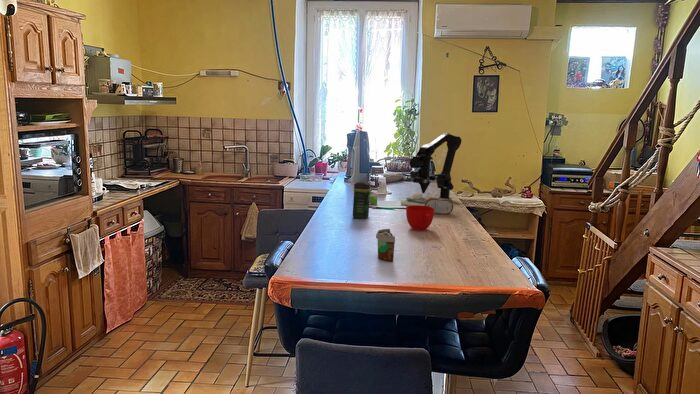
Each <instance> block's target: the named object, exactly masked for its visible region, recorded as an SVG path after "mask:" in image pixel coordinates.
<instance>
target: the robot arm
mask: <svg viewBox="0 0 700 394" xmlns="http://www.w3.org/2000/svg"><path fill="white" fill-rule="evenodd" d="M445 143H446V147H447V152H446V155H445V158H444V162H443V167H442V170H441V171H440V173H437V177H436V176H435V175H434V174H430V172H432V169H431V161H432V160H434V158H433V157H432V155H433V154H434V153H435V152H436V150H437V149H438V148H440V146H442V145H443V144H445ZM461 144H462V137H460V136H458V135H452V134H450V133H447V132H443V133H441V135H439V136H438V137H436V138H435V139H434V140H432V141H431V142H429V143H426V144H423V145H421V146H420V147H419V149H418V151H417V153H416V154H415V156H414V155H413V156H412V158H411V159H410V161H409V166H410V168H412V169H417V171H414V170H411V171H410V172H409V176H410V177H411V179H412V183H416V184H419V185H420V189H421V194H425V193H426V191H427V189H428V187H429V186H430V184H431V183H432V182H431V180H432V181H436V185H437V189H440V191H439V197H437V198H445V199H449V200H452V197H450V192H451V191H452V190H454V185H453V183H452V175H451V172H452V167H453V163H454V159H455V155H456V152H457V150H458V149H460V147H461ZM429 180H430V181H429Z"/></svg>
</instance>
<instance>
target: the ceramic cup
mask: <svg viewBox="0 0 700 394" xmlns="http://www.w3.org/2000/svg"><path fill="white" fill-rule="evenodd" d="M405 207H406V208H405V209H406V210H405V211H406V213H405V216H406V220H407V223H408V224H409V226H410V228H411V229H412V230H413V231H426V230H427V229H428V228H429V227H430V226H431V224H432V223H433V219H434V215H435V214H434V208H432V207H429V206H421V205H412V206H405Z"/></svg>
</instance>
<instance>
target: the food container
mask: <svg viewBox="0 0 700 394" xmlns="http://www.w3.org/2000/svg"><path fill="white" fill-rule="evenodd" d="M375 238H376V240H377V259H378V260H380V261H382V262H387V263H393V262H394V258H395V257H394V254H395V243H396V236H394V235H393V233H392V232H391V228H383V229H379V230H377V232H376V236H375Z"/></svg>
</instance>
